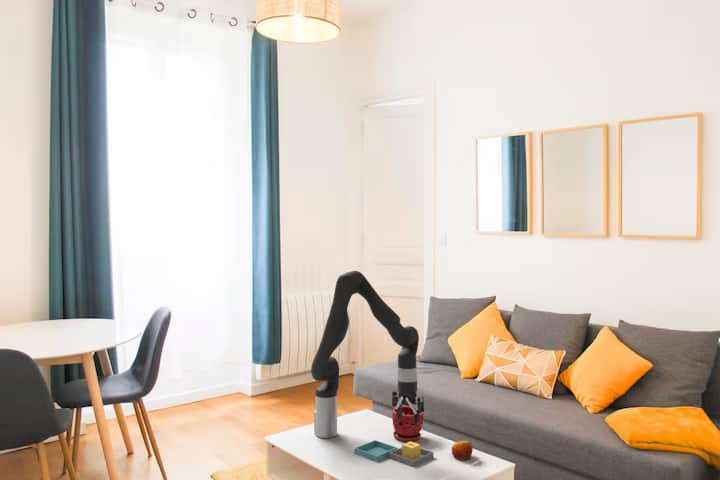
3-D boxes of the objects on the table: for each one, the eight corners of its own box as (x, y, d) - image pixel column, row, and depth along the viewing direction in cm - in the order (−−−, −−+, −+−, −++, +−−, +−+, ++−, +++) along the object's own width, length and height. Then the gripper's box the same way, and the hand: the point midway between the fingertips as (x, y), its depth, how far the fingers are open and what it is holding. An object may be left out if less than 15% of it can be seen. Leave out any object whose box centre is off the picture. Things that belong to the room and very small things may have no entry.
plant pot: (407, 446, 246) (406, 417, 246) (386, 437, 257) (386, 409, 256) (429, 439, 254) (429, 411, 254) (408, 430, 265) (408, 403, 264)
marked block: (402, 457, 233) (402, 444, 233) (410, 454, 237) (410, 441, 237) (412, 461, 230) (412, 447, 230) (420, 457, 234) (420, 444, 233)
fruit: (463, 461, 227) (456, 440, 230) (452, 466, 233) (446, 445, 236) (480, 457, 230) (473, 436, 234) (469, 462, 237) (462, 441, 240)
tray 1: (354, 454, 238) (354, 448, 238) (375, 445, 247) (375, 439, 247) (376, 462, 230) (376, 456, 230) (397, 453, 238) (397, 447, 238)
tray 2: (389, 458, 233) (388, 452, 233) (409, 450, 242) (409, 444, 242) (413, 467, 225) (413, 461, 225) (433, 458, 234) (433, 452, 234)
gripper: (387, 377, 235) (387, 419, 235) (415, 383, 225) (416, 427, 225) (399, 374, 240) (400, 414, 240) (428, 380, 230) (428, 422, 230)
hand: (408, 420), depth 233 cm, fingers open, 8 cm apart
